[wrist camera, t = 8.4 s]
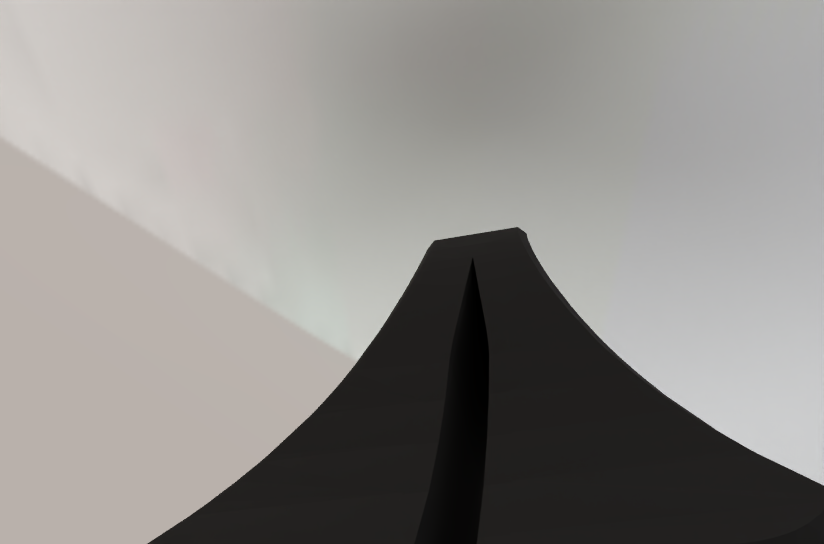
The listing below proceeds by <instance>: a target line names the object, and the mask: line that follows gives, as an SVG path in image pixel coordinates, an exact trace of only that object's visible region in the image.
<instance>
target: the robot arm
mask: <svg viewBox="0 0 824 544" xmlns="http://www.w3.org/2000/svg"><path fill="white" fill-rule="evenodd" d="M148 544H824V486H823V485H821V484H819V483H817V482H815V481H813V480H811V479H809V478H807V477H805V476H803V475H801V474H798V473H796V472H794V471H792V470H790V469H788V468H786V467H784V466H782V465H780V464H778V463H776V462H774V461H771V460H769V459H767V458H765V457H763V456H761V455H759V454H757V453H755V452H753V451H751V450H750V449H748V448H746V447H744V446H742V445H741V444H739V443H737V442H736V441H734V440H732V439H730V438H729V437H727V436H725V435H724V434H722V433H720V432H718V431H717V430H715V429H714V428H712V427H711V426H710V425H708V424H707V423H705V422H704V421H702V420H701V419H699V418H698V417H696V416H695V415H693V414H692V413H690V412H689V411H688V410H686V409H685V408H683V407H682V406H680V405H679V404H677V403H676V402H674V401H673V400H671V399H670V398H668V397H667V396H666V395H664V394H663V393H662V392H661V391H659V390H658V389H657V388H656V387H654V386H653V385H652V384H651V383H649V382H648V381H647V380H646V379H644V378H643V377H642V376H641V375H639V374H638V373H637V372H636V371H635V370H634V369H632V368H631V367H630V366H629V365H628V364H627V363H626V362H624V361H623V360H622V359H621V358H620V357H619V356H618V355H617V354H616V353H615V352H613V351H612V350H611V349H610V348H609V347H608V346H607V345H606V344H605V343H604V342H603V341H602V340H601V339H600V338H599V337H598V336H597V335H596V334H595V332H594V331H593V330H592V329H591V328H590V327H589V326H588V325H587V324H586V323H585V322H584V321H583V319H582V318H581V317H580V316H579V315H578V314H577V313H576V311H575V310H574V309H573V308H572V307H571V306H570V304H569V303H568V302H567V300H566V299H565V298H564V296H563V295H562V294H561V293H560V291H559V290H558V289H557V287H556V286H555V285H554V284H553V282H552V281H551V279H550V278H549V276H548V275H547V274H546V272H545V270H544V269H543V267H542V266H541V264H540V262H539V261H538V259H537V257H536V256H535V254H534V252H533V250H532V248H531V246H530V243H529V241H528V238H527V234H526V233H525V232H524V231H522V230H521V229H520V228H518V227H516V228H509V229H503V230H497V231H491V232H485V233H479V234H472V235H466V236H460V237H454V238H448V239H442V240H435V241H434V242H433V243H432V244H431V246H430V247H429V248H428V250H427V252H426V254H425V256H424V258H423V259H422V261H421V263H420V265H419V267H418V269H417V271H416V272H415V274H414V276H413V278H412V280H411V281H410V283H409V285H408V287H407V288H406V290H405V292H404V293H403V295H402V297H401V298H400V300H399V301H398V303H397V305H396V306H395V308H394V309H393V311H392V313H391V314H390V316H389V317H388V319H387V321H386V322H385V324H384V325H383V327H382V328H381V330H380V331H379V333H378V334H377V335H376V337H375V338H374V340H373V341H372V342H371V344H370V345H369V346H368V348H367V349H366V351H365V352H364V353H363V355H362V356H361V357H360V359H359V360H358V362H357V363H356V364H355V366H354V367H353V368H352V370H351V371H350V372H349V373H348V374H347V376H346V377H345V378H344V380H343V381H342V382H341V383H340V384H339V385H338V387H337V388H336V389H335V390H334V391H333V392H332V393H331V394H330V395H329V397H328V398H327V399H326V400H325V401H324V402H323V404H321V405H320V407H318V409H317V410H316V411H315V412H314V413H313V414H312V415H311V416H310V417H309V418H308V419H306V420H305V421H304V422H303V423H302V424H301V425H300V426H299V427H298V428H297V429H296V430H295V431H294V432H293V433H292V434H291V435H289V436H288V437H287V438H286V439H285V440H284V441H283V442H282V443H281V444H280V445H279V446H278V447H277V448H276V449H274V450H273V451H272V452H271V453H270V454H269V455H268V456H267V457H265V458H264V459H263V460H262V461H261V462H260V463H258V464H257V465H256V466H255V467H254V468H252V469H251V470H250V471H249V472H247V473H246V474H245V475H244V476H242V477H241V478H240V479H239V480H238V481H237V482H235V483H234V484H232V485H231V486H230V487H228V488H227V489H226V490H224V491H223V492H222V493H220V494H219V495H218V496H217V497H215V498H214V499H213V500H211V501H210V502H209V503H207V504H206V505H204V506H203V507H202V508H200V509H199V510H197V511H196V512H195V513H193V514H192V515H191V516H189V517H187V518H186V519H184V520H183V521H181V522H180V523H178V524H177V525H175V526H174V527H172V528H171V529H169V530H168V531H166V532H165V533H163V534H162V535H160V536H159V537H157V538H155V539H154V540H152V541H151V542H149V543H148Z"/></svg>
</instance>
